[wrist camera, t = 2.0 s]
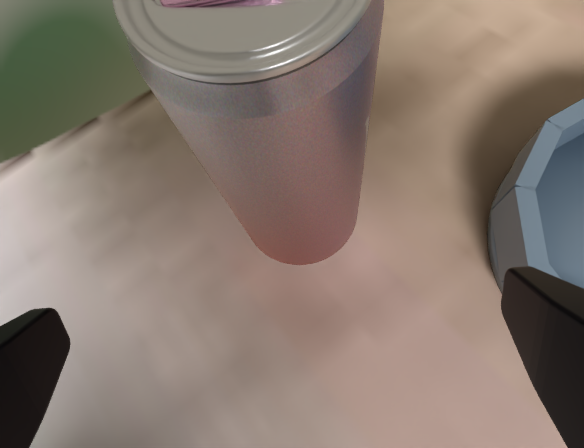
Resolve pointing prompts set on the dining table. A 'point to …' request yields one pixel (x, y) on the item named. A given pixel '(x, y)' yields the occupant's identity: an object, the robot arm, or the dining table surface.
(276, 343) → the dining table surface
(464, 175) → the dining table surface
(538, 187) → the bowl
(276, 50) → the beverage can
